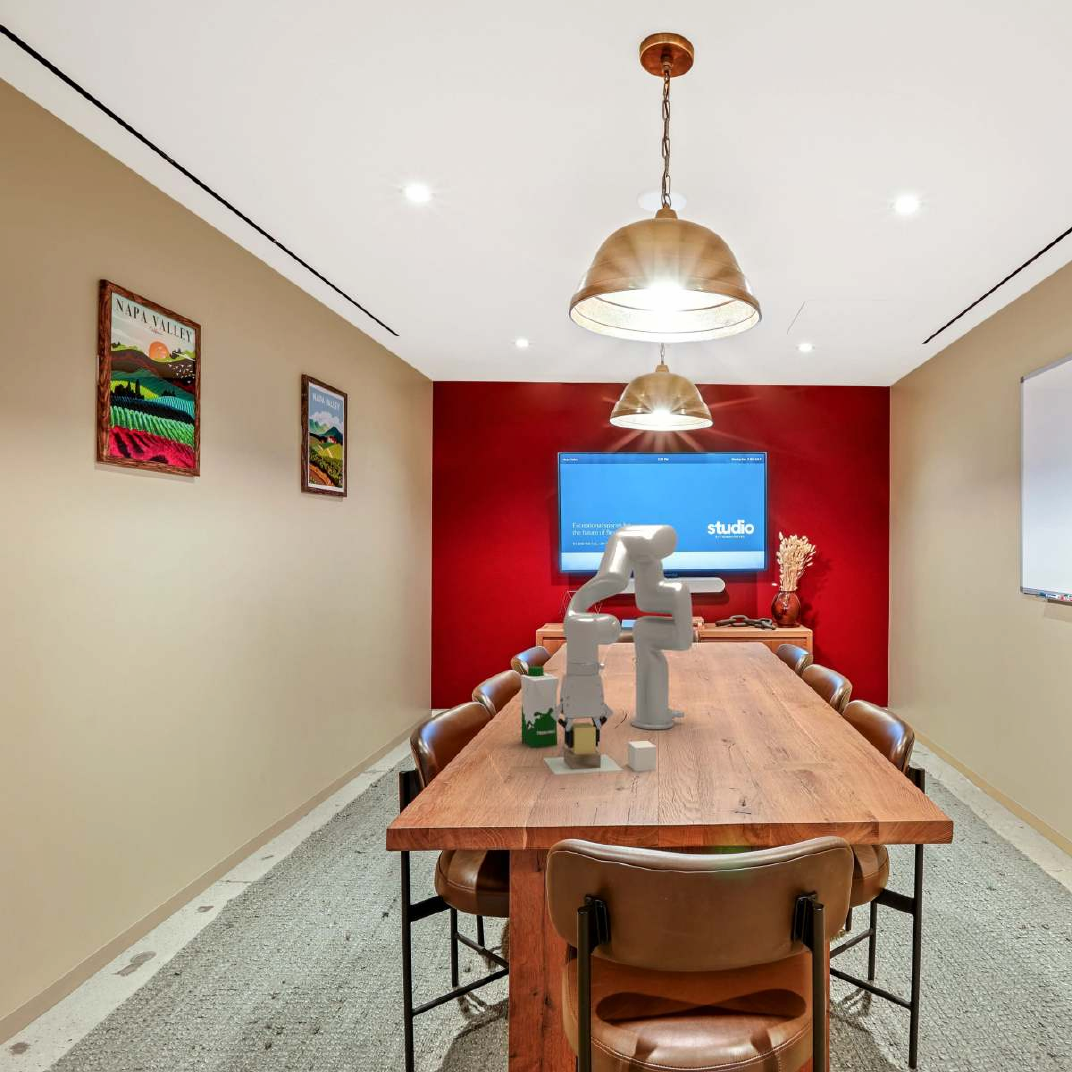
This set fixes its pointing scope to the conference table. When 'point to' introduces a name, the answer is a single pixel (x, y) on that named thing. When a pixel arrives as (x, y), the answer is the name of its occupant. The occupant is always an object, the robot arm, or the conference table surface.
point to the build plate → (562, 768)
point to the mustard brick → (583, 738)
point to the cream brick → (641, 756)
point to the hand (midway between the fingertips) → (582, 745)
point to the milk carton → (539, 708)
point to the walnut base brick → (582, 760)
